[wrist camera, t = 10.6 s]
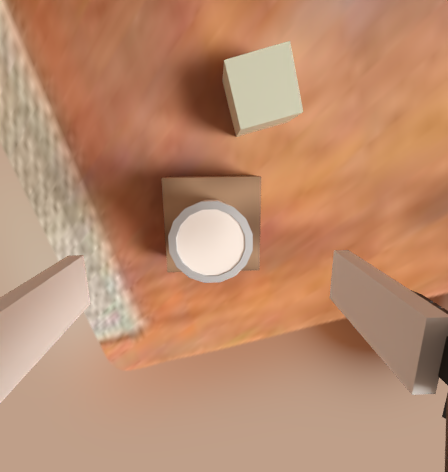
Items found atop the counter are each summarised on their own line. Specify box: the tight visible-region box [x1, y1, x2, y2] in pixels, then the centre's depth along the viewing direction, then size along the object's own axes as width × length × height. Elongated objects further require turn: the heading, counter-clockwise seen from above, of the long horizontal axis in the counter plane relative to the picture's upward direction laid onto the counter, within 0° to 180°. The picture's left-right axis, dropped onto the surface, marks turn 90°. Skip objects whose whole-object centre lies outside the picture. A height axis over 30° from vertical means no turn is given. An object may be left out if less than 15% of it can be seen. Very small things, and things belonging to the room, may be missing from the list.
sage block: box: [222, 41, 303, 137], centre depth 28 cm, size 6×6×6 cm
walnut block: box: [161, 176, 261, 272], centre depth 31 cm, size 10×10×5 cm
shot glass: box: [168, 200, 253, 283], centre depth 25 cm, size 7×7×7 cm
